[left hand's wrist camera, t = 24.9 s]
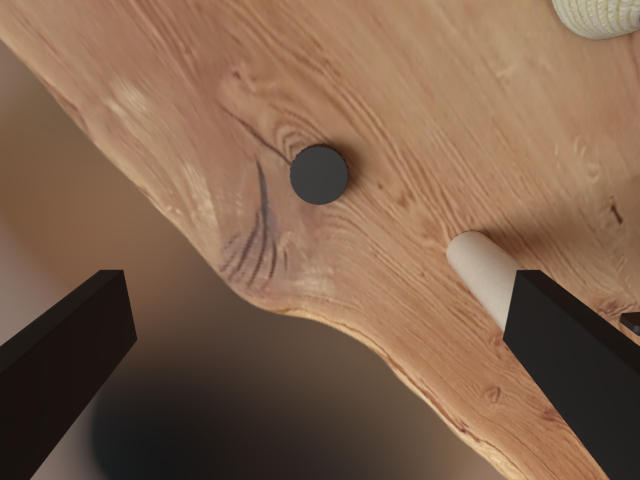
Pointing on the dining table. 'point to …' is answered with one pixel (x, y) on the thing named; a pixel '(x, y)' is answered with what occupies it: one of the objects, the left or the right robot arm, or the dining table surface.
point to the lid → (319, 174)
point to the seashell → (599, 17)
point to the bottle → (485, 272)
